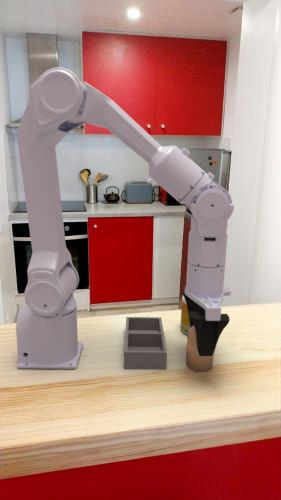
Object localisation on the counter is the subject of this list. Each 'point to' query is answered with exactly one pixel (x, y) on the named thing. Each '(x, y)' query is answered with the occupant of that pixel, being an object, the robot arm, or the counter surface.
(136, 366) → the carrier
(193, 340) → the tan capsule
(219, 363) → the counter surface
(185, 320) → the supplement bottle
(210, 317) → the robot arm
